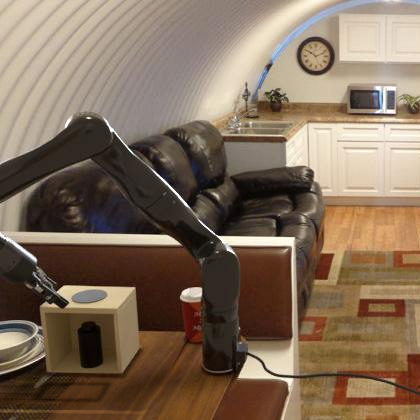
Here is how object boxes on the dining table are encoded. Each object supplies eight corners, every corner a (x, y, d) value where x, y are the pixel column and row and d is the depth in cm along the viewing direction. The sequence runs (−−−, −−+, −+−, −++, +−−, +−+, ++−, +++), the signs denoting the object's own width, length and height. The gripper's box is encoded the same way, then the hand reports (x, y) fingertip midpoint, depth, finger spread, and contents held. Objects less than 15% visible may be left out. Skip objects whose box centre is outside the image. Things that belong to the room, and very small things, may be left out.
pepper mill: (106, 358, 164) (103, 319, 161) (98, 368, 159) (95, 328, 156) (85, 357, 163) (82, 319, 160) (77, 368, 158) (73, 328, 155)
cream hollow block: (139, 350, 170) (135, 286, 165) (122, 376, 158) (117, 307, 152) (70, 349, 169) (63, 284, 164) (47, 375, 156) (39, 306, 151)
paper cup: (202, 346, 174) (200, 299, 170) (176, 342, 176) (174, 295, 172) (215, 333, 182) (214, 288, 178) (191, 329, 183) (189, 284, 179)
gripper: (31, 261, 137) (83, 299, 148) (13, 233, 146) (63, 272, 157) (1, 286, 135) (56, 323, 146) (-15, 256, 144) (38, 293, 155)
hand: (60, 296), depth 152 cm, fingers open, 8 cm apart
